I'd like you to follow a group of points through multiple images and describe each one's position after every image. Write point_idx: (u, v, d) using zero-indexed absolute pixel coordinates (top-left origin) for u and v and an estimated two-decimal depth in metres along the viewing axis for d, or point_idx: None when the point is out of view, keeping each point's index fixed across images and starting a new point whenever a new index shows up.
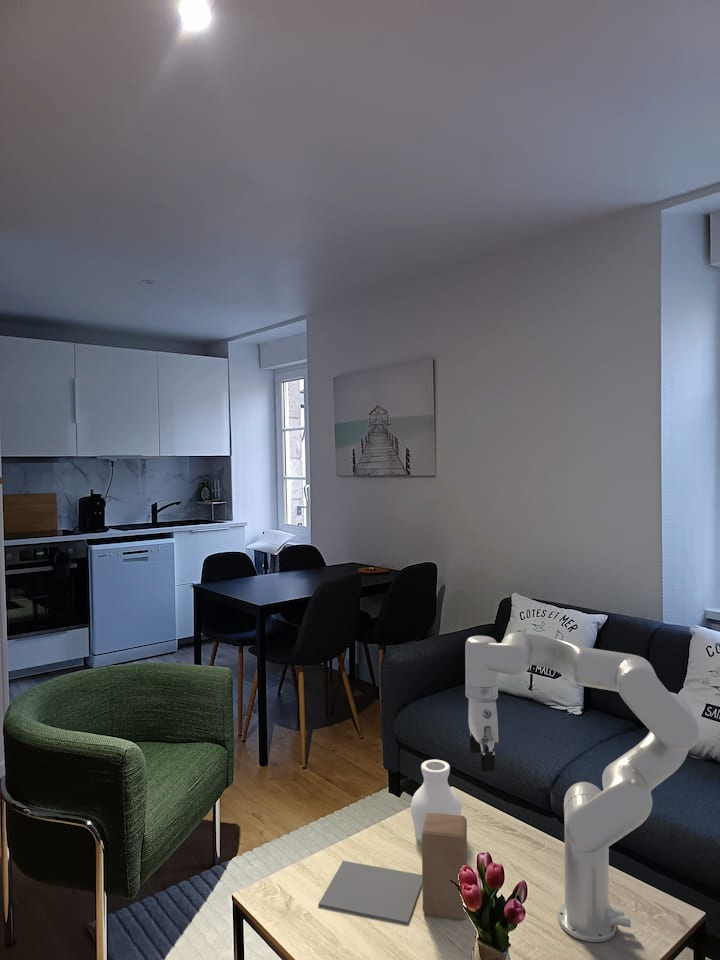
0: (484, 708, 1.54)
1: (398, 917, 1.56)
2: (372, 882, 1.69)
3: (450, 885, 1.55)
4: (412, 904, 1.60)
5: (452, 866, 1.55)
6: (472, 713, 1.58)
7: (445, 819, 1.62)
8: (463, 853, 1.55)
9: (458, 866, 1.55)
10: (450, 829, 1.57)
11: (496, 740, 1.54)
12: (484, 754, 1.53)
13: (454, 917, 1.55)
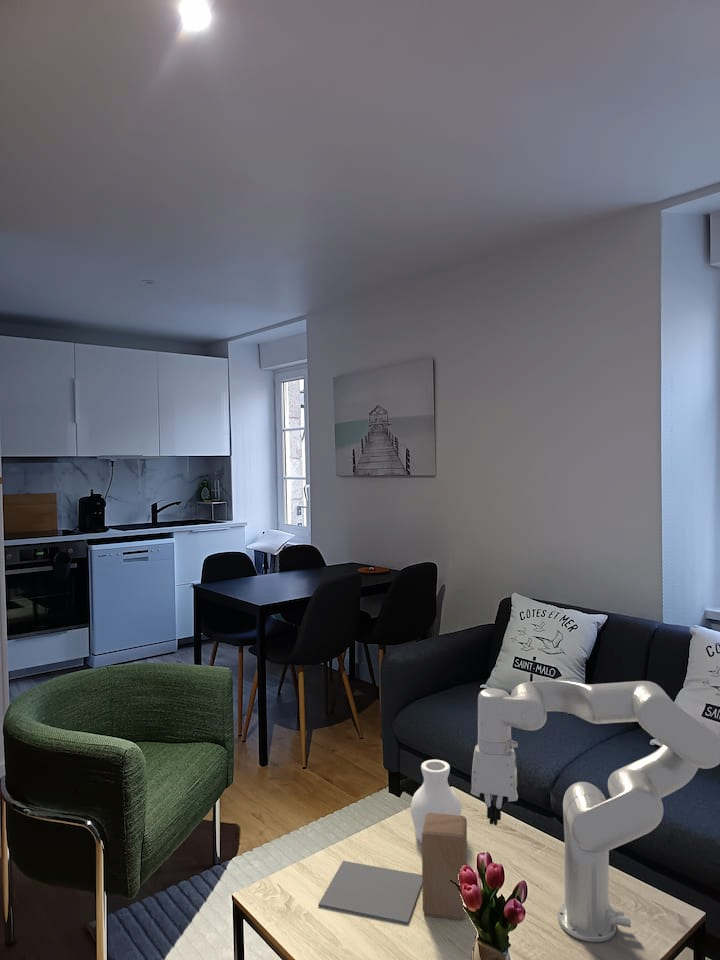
0: (514, 759, 1.54)
1: (398, 917, 1.56)
2: (372, 882, 1.69)
3: (450, 885, 1.55)
4: (412, 904, 1.60)
5: (452, 866, 1.55)
6: (497, 771, 1.53)
7: (445, 819, 1.62)
8: (463, 853, 1.55)
9: (458, 866, 1.55)
10: (450, 829, 1.57)
11: None
12: None
13: (454, 917, 1.55)
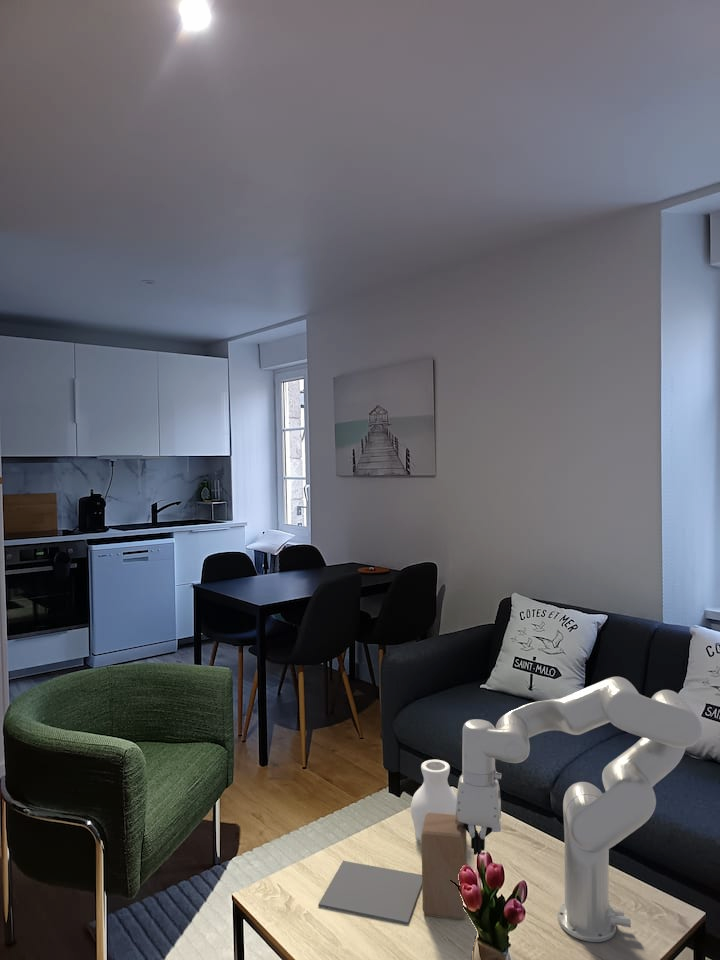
0: (498, 790, 1.55)
1: (398, 917, 1.56)
2: (372, 882, 1.69)
3: (450, 885, 1.55)
4: (412, 904, 1.60)
5: (452, 866, 1.55)
6: (481, 802, 1.55)
7: (444, 819, 1.62)
8: (463, 853, 1.55)
9: (458, 866, 1.55)
10: (449, 829, 1.57)
11: (500, 816, 1.58)
12: (484, 837, 1.56)
13: (454, 917, 1.55)
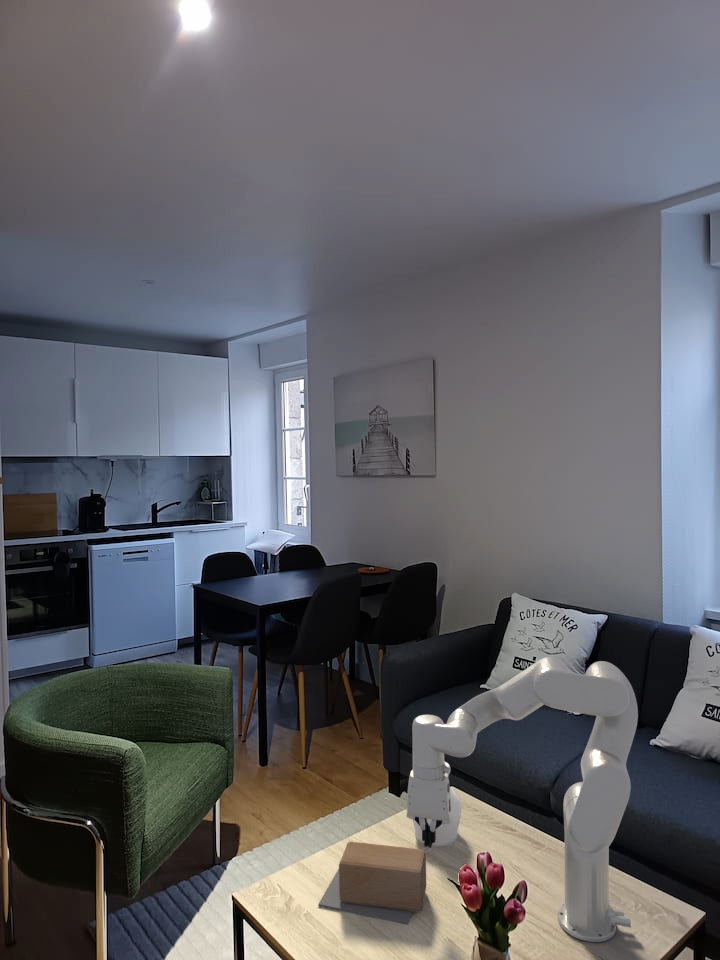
0: (447, 783, 1.59)
1: (398, 917, 1.56)
2: None
3: (386, 882, 1.58)
4: None
5: (367, 878, 1.59)
6: (430, 795, 1.58)
7: None
8: (354, 865, 1.60)
9: (367, 872, 1.59)
10: None
11: (450, 809, 1.62)
12: (434, 829, 1.60)
13: (418, 882, 1.57)
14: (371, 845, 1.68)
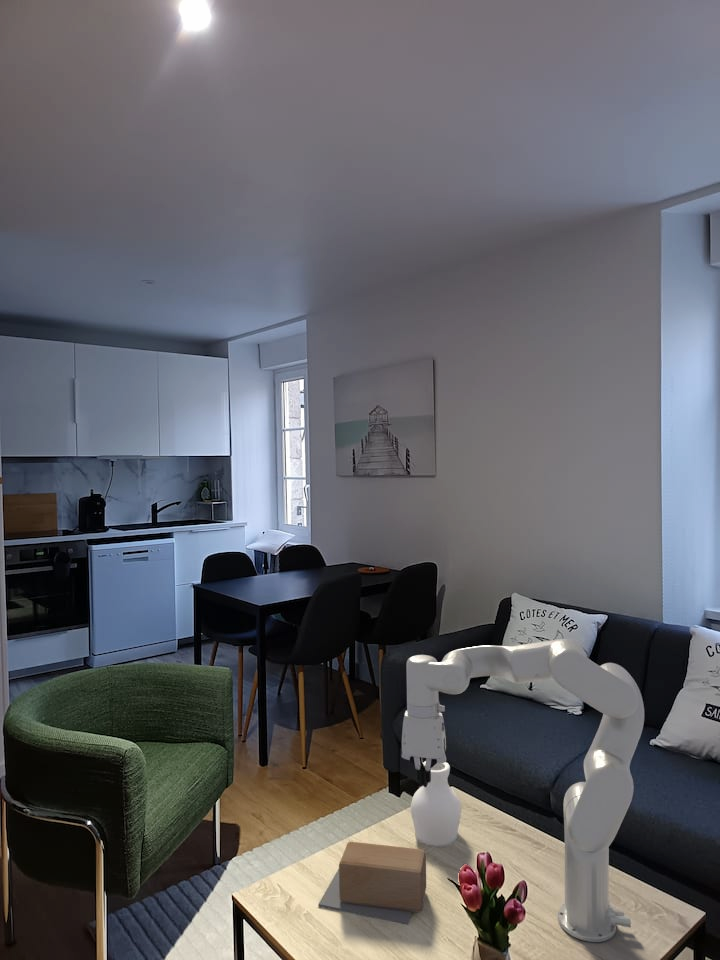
0: (441, 722, 1.59)
1: (398, 917, 1.56)
2: None
3: (386, 882, 1.58)
4: None
5: (367, 878, 1.59)
6: (425, 734, 1.58)
7: None
8: (354, 865, 1.60)
9: (367, 872, 1.59)
10: None
11: (445, 748, 1.62)
12: (429, 768, 1.60)
13: (418, 882, 1.57)
14: (371, 845, 1.68)
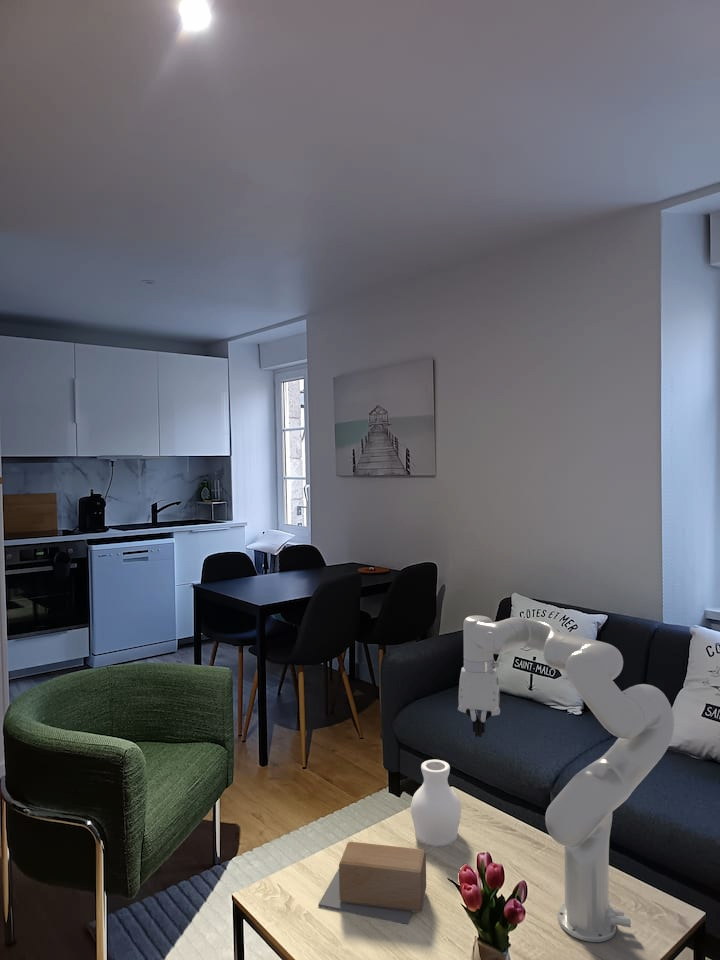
0: (496, 677, 1.71)
1: (398, 917, 1.56)
2: None
3: (386, 882, 1.58)
4: None
5: (367, 878, 1.59)
6: (481, 688, 1.71)
7: None
8: (354, 865, 1.60)
9: (367, 872, 1.59)
10: None
11: None
12: (485, 720, 1.72)
13: (418, 882, 1.57)
14: (371, 845, 1.68)
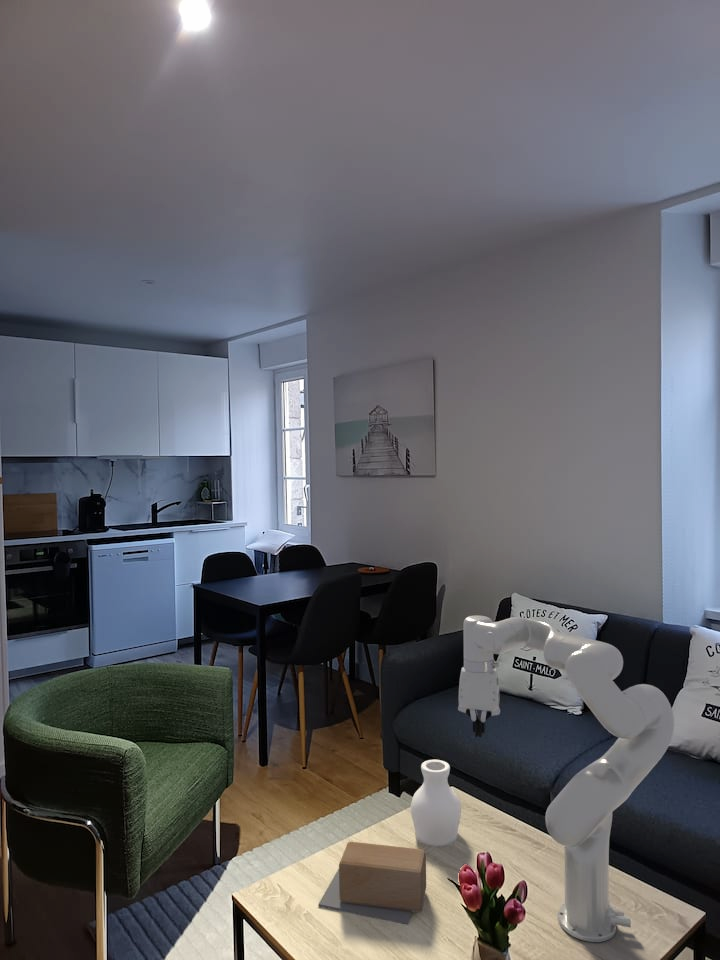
0: (496, 677, 1.71)
1: (398, 917, 1.56)
2: None
3: (386, 882, 1.58)
4: None
5: (367, 878, 1.59)
6: (481, 688, 1.71)
7: None
8: (354, 865, 1.60)
9: (367, 872, 1.59)
10: None
11: None
12: (485, 720, 1.72)
13: (418, 882, 1.57)
14: (371, 845, 1.68)
